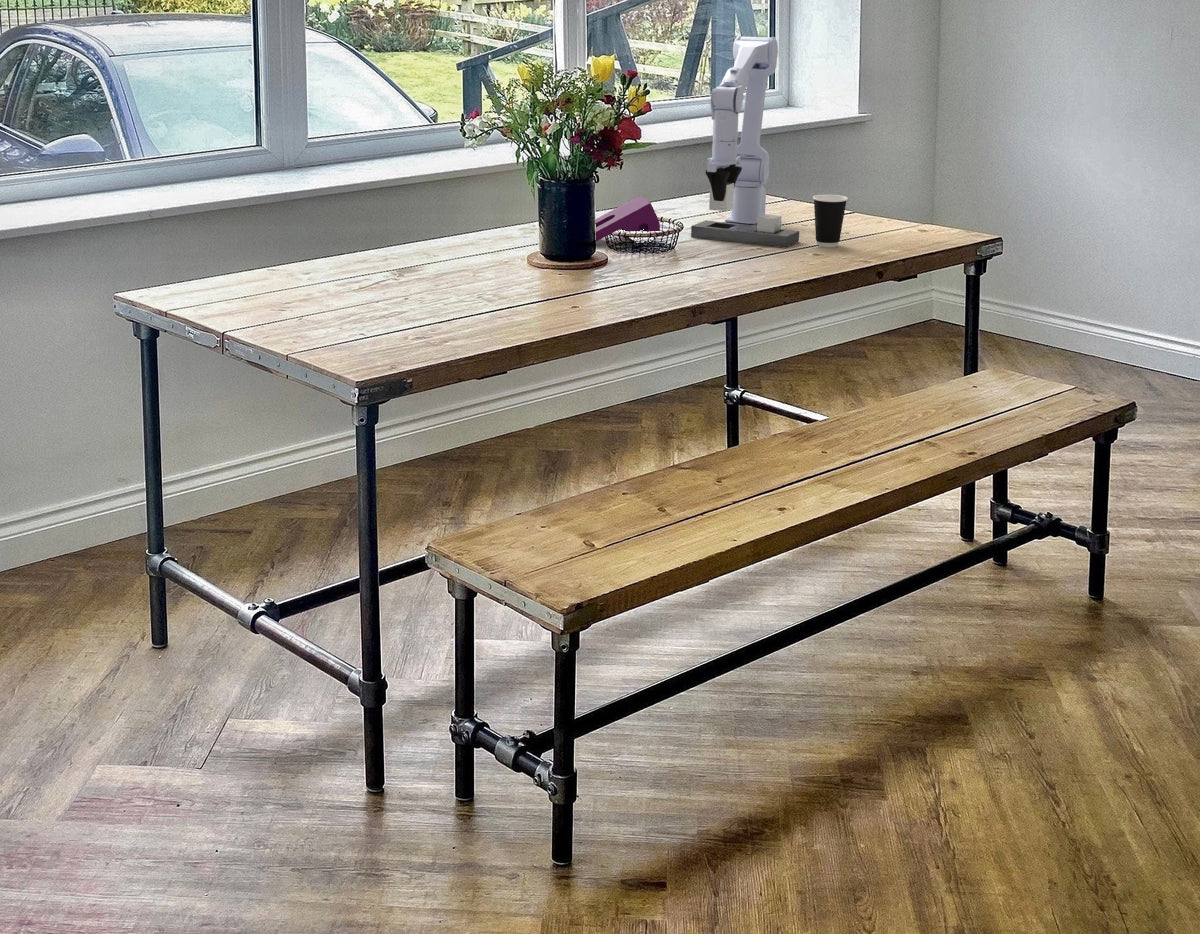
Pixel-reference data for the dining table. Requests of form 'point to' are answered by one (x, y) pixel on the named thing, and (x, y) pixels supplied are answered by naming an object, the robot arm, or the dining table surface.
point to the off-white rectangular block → (769, 224)
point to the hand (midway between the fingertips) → (722, 199)
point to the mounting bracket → (628, 218)
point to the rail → (743, 234)
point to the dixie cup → (829, 218)
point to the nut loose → (727, 200)
